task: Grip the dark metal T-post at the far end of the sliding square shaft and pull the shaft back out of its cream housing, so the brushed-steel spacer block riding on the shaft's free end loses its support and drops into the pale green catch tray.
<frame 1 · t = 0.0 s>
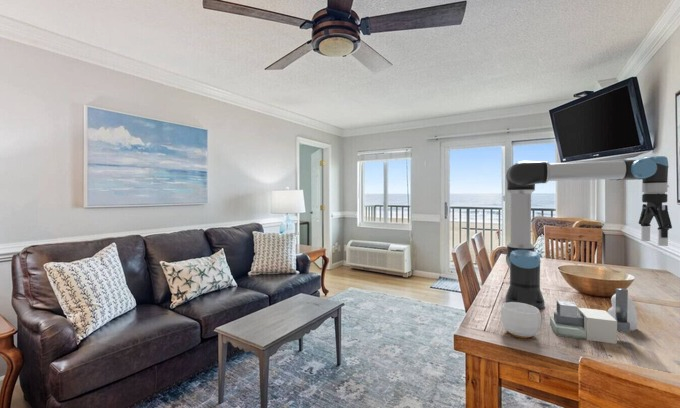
hand: (653, 243, 131), 28 cm above the table, fingers open, 13 cm apart
shaft: (590, 306, 107), point 10 cm above the table, slide at 0.0 cm, touching spacer
white faceted bowl: (520, 335, 108), on the table
spacer: (566, 314, 110), point 6 cm above the table, touching shaft
tray: (566, 331, 110), on the table
housing: (596, 335, 107), on the table
figurine: (623, 327, 114), on the table
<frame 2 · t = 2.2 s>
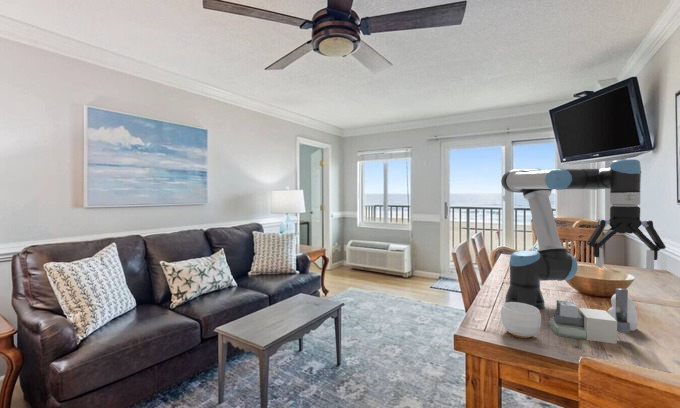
hand: (624, 268, 105), 24 cm above the table, fingers open, 13 cm apart
nothing on the table moved.
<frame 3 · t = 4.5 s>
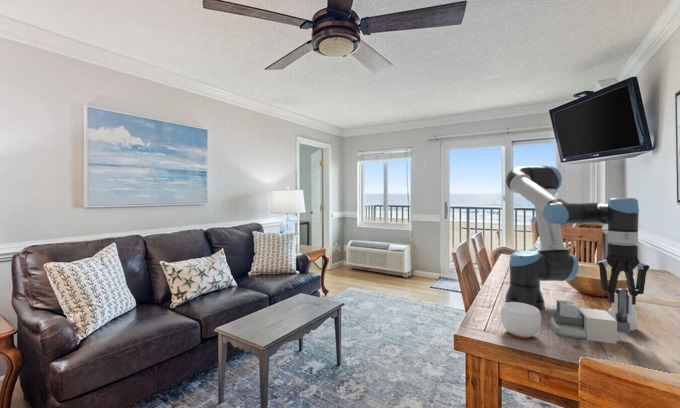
hand: (621, 312, 104), 9 cm above the table, fingers closed on shaft, 3 cm apart
shaft: (590, 306, 107), point 10 cm above the table, slide at 0.0 cm, touching gripper, spacer
everything else where it was.
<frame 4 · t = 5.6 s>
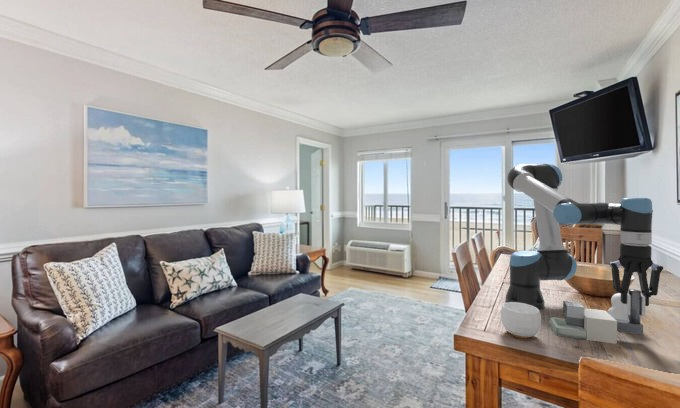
hand: (634, 314, 103), 9 cm above the table, fingers closed on shaft, 3 cm apart
shaft: (602, 307, 106), point 10 cm above the table, slide at 3.4 cm, touching gripper, spacer
spacer: (573, 315, 109), point 6 cm above the table, touching housing, shaft
everything else where it was.
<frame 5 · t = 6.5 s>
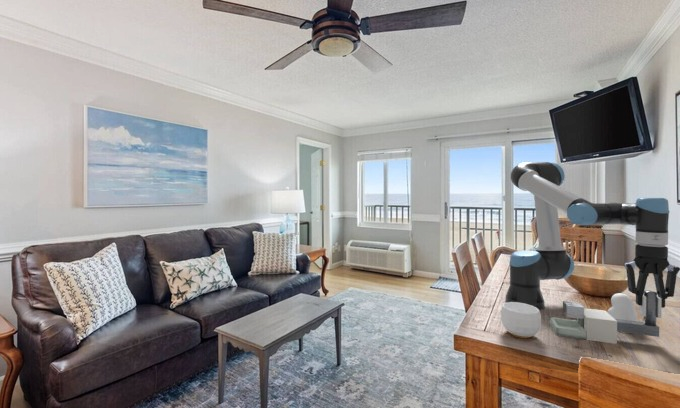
hand: (649, 315, 101), 9 cm above the table, fingers closed on shaft, 3 cm apart
shaft: (616, 309, 105), point 10 cm above the table, slide at 7.3 cm, touching gripper
spacer: (573, 315, 109), point 6 cm above the table
everything else where it was.
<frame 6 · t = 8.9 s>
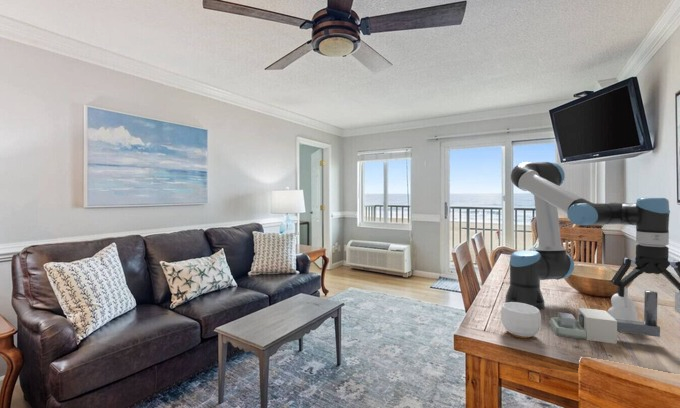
hand: (650, 309, 101), 11 cm above the table, fingers open, 13 cm apart
shaft: (617, 309, 104), point 10 cm above the table, slide at 7.5 cm
spacer: (573, 323, 110), point 3 cm above the table, tilted 90°, touching tray
everything else where it was.
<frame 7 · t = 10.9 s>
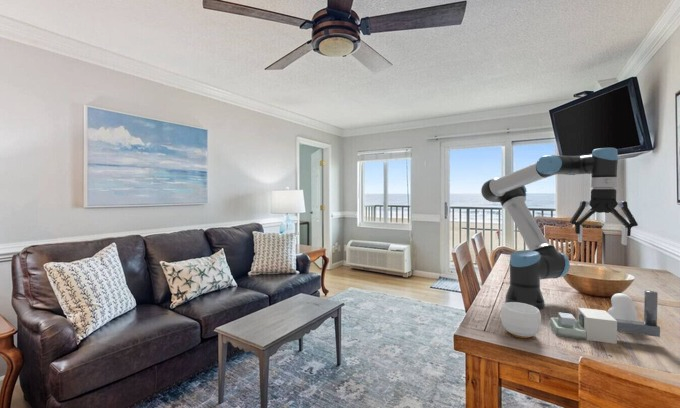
hand: (601, 243, 120), 30 cm above the table, fingers open, 13 cm apart
nothing on the table moved.
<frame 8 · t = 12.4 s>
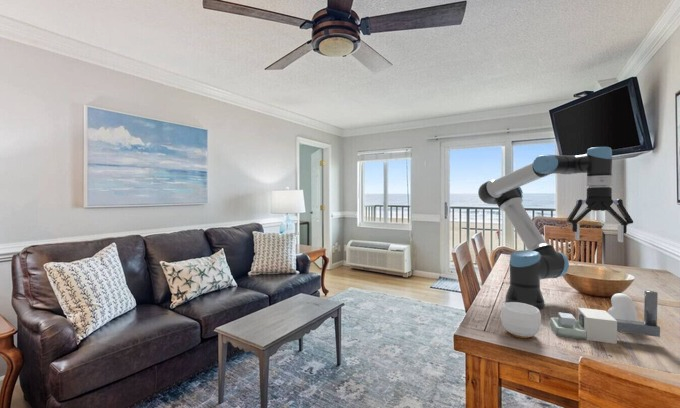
hand: (598, 241, 121), 31 cm above the table, fingers open, 13 cm apart
nothing on the table moved.
at the end: shaft slide at 7.5 cm; spacer inside the target area (1.4 cm from its centre), point 3.3 cm above the table; the gripper is holding nothing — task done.
